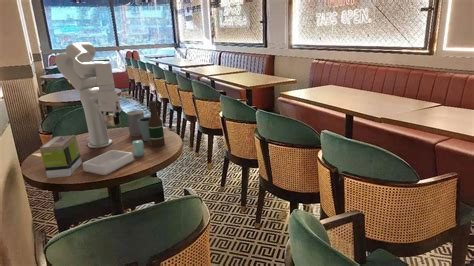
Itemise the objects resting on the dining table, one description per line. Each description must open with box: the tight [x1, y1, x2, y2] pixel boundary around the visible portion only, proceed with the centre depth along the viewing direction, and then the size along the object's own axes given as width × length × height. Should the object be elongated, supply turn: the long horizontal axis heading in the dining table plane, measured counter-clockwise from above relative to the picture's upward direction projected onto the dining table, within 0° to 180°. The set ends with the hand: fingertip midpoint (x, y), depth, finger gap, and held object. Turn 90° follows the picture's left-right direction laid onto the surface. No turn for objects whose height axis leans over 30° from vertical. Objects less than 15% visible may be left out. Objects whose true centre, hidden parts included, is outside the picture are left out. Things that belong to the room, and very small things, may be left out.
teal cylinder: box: [131, 139, 146, 158], centre depth 165 cm, size 5×5×7 cm
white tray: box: [81, 149, 135, 176], centre depth 153 cm, size 14×18×4 cm
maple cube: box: [104, 113, 121, 127], centre depth 165 cm, size 5×5×5 cm
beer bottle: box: [148, 100, 165, 148], centre depth 175 cm, size 8×8×24 cm
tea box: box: [39, 134, 83, 179], centre depth 149 cm, size 15×10×15 cm, turn 5°
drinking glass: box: [138, 116, 150, 142], centre depth 188 cm, size 10×10×12 cm
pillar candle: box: [126, 109, 145, 137], centre depth 198 cm, size 10×10×15 cm
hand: (113, 123), depth 166 cm, fingers closed on maple cube, 5 cm apart
